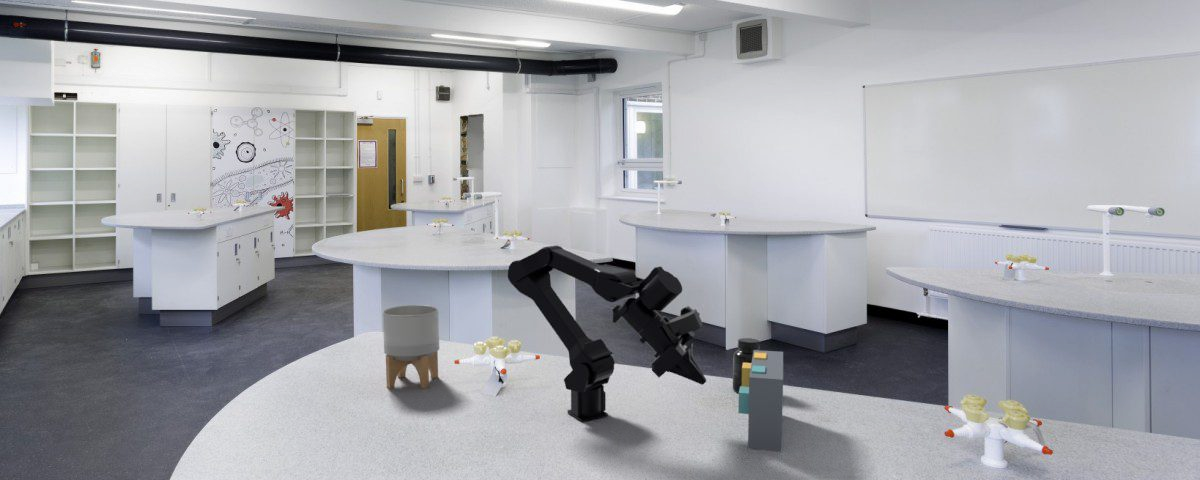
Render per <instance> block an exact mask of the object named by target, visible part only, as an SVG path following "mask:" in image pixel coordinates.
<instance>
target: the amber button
mask: <svg viewBox="0 0 1200 480" xmlns="http://www.w3.org/2000/svg"><path fill="white" fill-rule="evenodd" d="M751 364H752V363H743V365H742V387H749V376H750V370H751Z"/></svg>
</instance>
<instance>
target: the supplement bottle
mask: <svg viewBox="0 0 1200 480" xmlns="http://www.w3.org/2000/svg"><path fill="white" fill-rule="evenodd" d="M737 348H738V349H737V350H736V351H734V353H733V356H732V357H733V360H732V361H733V362H732V390H733V391H734V392H735V393H738V394H739V389H740V386H742V365H743V363H752V357H753V351H754V350H760V340H758V339H755V338H750V337H744V338H738V339H737Z"/></svg>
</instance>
